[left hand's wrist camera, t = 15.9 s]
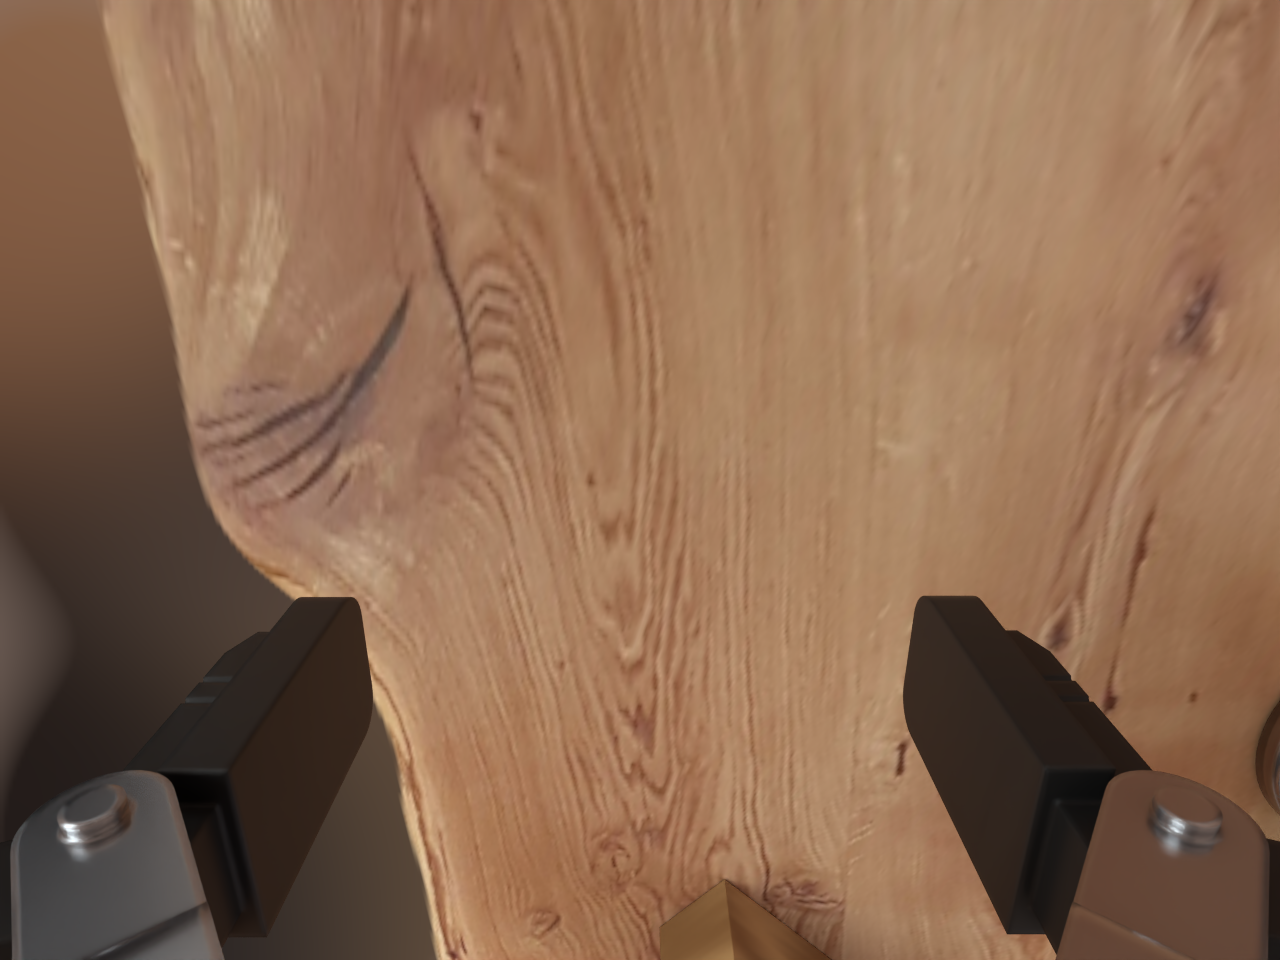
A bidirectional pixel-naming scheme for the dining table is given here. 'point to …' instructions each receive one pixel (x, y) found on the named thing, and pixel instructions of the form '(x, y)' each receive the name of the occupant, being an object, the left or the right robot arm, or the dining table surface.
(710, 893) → the bar
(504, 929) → the dining table surface
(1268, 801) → the right robot arm
